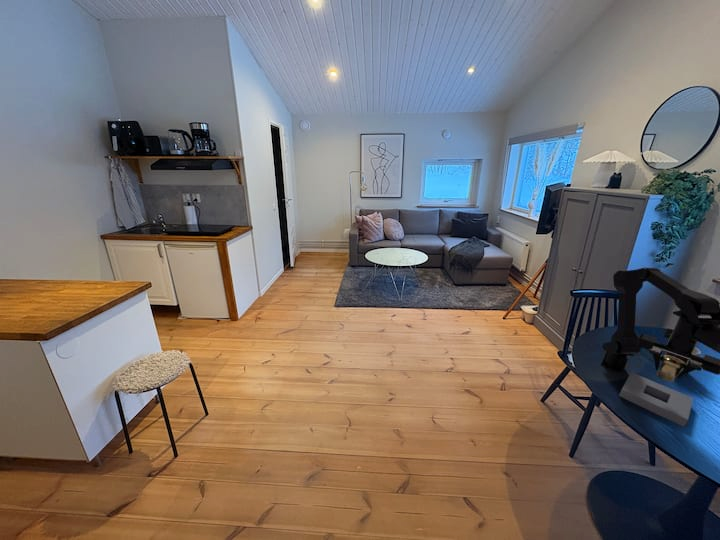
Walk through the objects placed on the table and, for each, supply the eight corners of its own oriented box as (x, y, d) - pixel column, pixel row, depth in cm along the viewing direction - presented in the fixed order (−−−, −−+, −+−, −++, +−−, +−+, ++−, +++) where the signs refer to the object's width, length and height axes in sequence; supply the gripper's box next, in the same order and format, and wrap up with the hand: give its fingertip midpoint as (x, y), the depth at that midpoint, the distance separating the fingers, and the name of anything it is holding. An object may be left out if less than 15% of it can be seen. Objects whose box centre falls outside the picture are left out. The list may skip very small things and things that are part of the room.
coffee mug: (673, 361, 120) (683, 340, 116) (696, 375, 112) (707, 354, 108) (646, 361, 120) (655, 341, 116) (667, 376, 112) (677, 354, 108)
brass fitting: (652, 376, 97) (660, 359, 95) (655, 369, 100) (663, 352, 98) (675, 385, 93) (684, 368, 91) (677, 378, 96) (686, 361, 94)
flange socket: (618, 395, 102) (621, 389, 101) (628, 378, 110) (631, 372, 109) (684, 426, 90) (688, 419, 89) (689, 404, 99) (693, 398, 97)
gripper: (733, 338, 89) (710, 378, 94) (650, 313, 102) (635, 350, 108) (732, 352, 82) (708, 395, 88) (644, 324, 96) (628, 363, 101)
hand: (666, 373), depth 96 cm, fingers closed on brass fitting, 5 cm apart
